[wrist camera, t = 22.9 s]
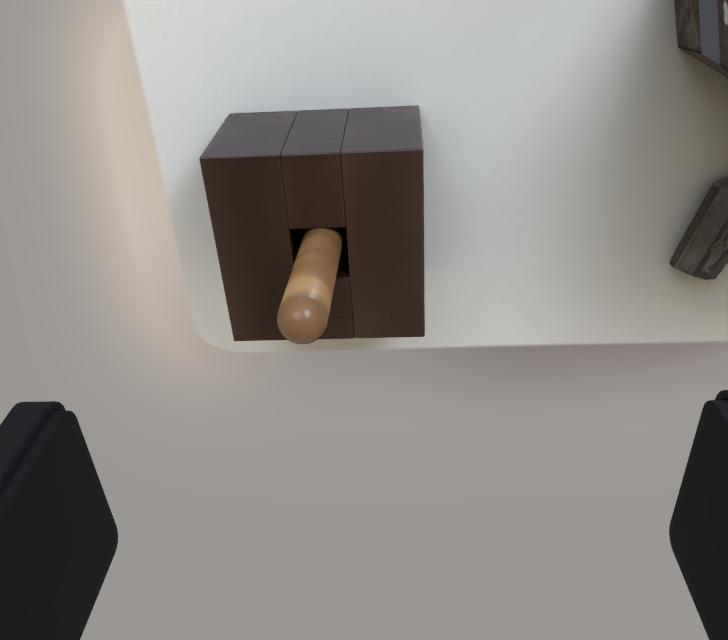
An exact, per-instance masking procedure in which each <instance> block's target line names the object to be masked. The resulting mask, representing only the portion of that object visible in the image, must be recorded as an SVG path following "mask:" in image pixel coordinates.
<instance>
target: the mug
mask: <svg viewBox="0 0 728 640" xmlns="http://www.w3.org/2000/svg"><path fill="white" fill-rule="evenodd" d="M675 11H676V24H677V37H678V47H679V48H681V49H682V50H684V51H685V52H687V53H689V54H690V55H692V56H694V57H695V58H697V59H698V60H700V61H702V62H703V63H705V64H707V65H708V66H710V67H711V68H713V69H715V70H716V71H718V72H720V73H721V74H723V75H724V76H726V77H728V0H675Z"/></svg>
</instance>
